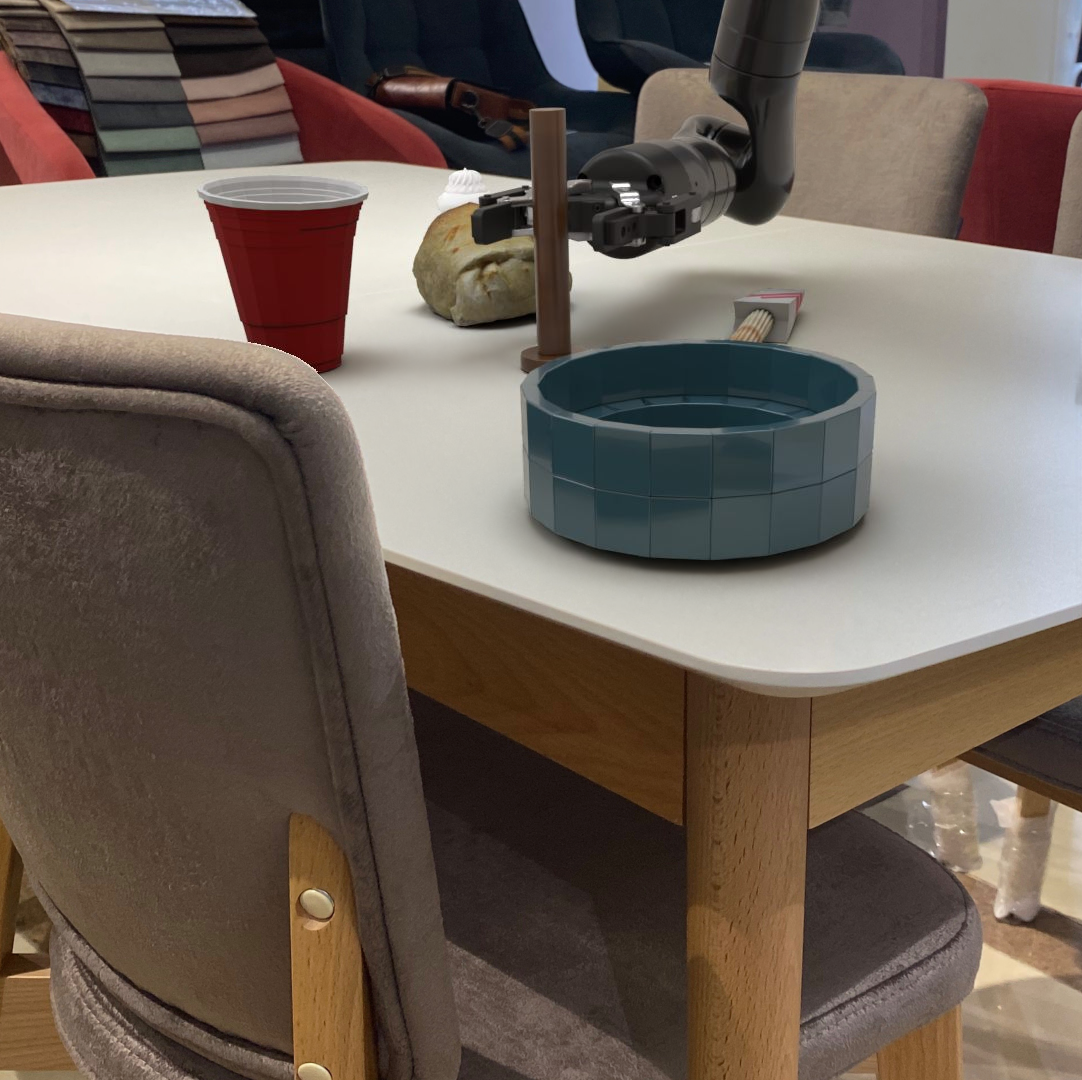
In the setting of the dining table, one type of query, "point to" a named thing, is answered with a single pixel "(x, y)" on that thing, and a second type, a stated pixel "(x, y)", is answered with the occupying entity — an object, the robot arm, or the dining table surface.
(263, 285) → the plastic cup
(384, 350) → the dining table surface
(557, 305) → the stirrer
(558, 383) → the bowl
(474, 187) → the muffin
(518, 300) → the pastry
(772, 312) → the box of toothpicks
